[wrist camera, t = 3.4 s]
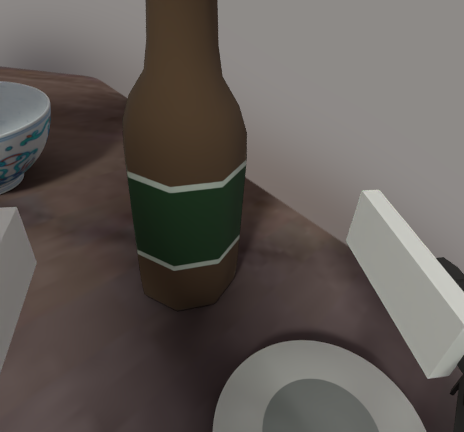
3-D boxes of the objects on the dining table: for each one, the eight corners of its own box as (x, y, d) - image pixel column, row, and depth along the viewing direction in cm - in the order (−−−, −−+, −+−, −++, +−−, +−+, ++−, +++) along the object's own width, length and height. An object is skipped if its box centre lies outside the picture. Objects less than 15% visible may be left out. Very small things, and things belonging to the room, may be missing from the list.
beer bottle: (171, 333, 26) (139, -144, 11) (119, 267, 31) (50, -135, 16) (255, 283, 30) (311, -117, 16) (199, 231, 35) (201, -115, 20)
